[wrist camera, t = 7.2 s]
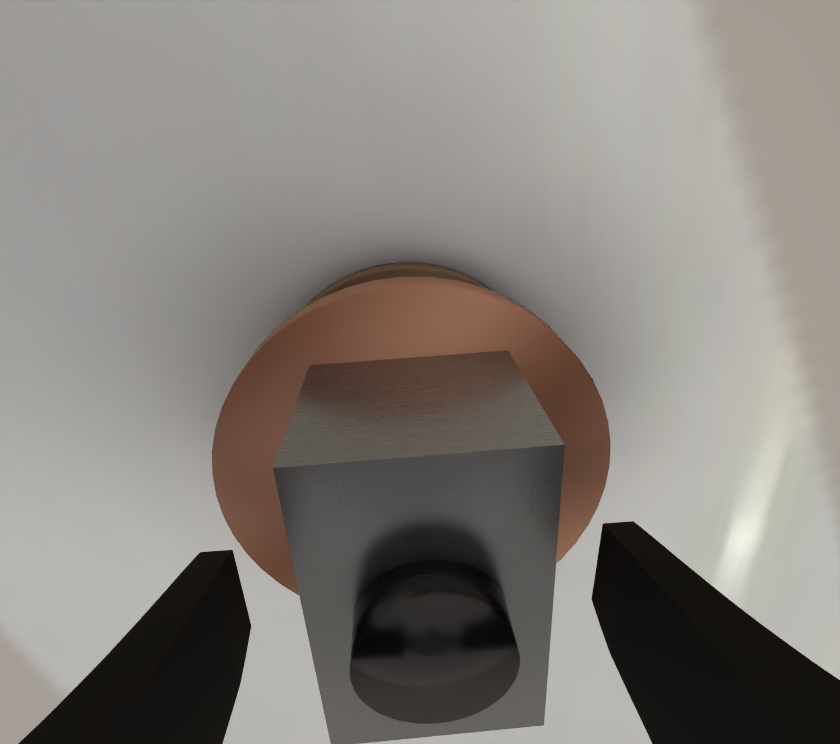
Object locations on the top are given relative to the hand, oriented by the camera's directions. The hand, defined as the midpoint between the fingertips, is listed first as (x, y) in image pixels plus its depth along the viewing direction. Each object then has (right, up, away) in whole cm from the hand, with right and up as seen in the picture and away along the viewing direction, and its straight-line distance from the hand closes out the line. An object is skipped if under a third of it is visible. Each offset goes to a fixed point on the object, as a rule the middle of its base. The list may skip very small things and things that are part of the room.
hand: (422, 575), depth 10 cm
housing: (0, +1, +3) cm, 3 cm away
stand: (0, +3, +7) cm, 8 cm away
